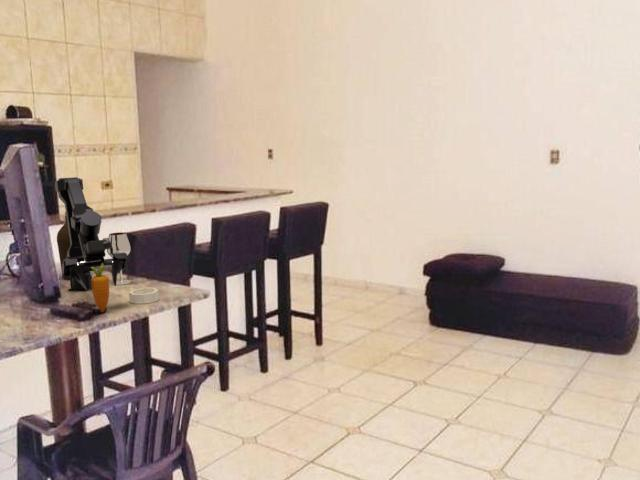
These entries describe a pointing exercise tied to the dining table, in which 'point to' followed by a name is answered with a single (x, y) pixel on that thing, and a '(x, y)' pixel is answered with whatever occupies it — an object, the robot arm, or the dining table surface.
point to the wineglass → (119, 249)
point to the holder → (144, 295)
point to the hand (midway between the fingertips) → (101, 287)
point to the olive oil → (63, 244)
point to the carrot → (100, 288)
